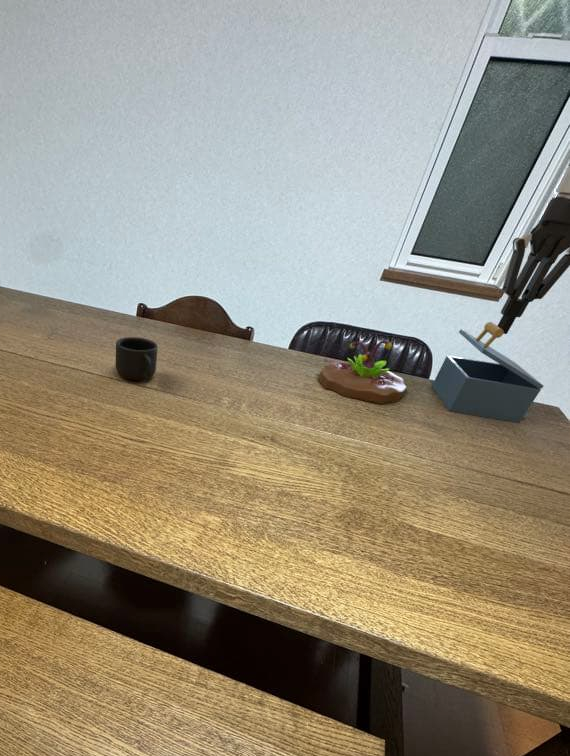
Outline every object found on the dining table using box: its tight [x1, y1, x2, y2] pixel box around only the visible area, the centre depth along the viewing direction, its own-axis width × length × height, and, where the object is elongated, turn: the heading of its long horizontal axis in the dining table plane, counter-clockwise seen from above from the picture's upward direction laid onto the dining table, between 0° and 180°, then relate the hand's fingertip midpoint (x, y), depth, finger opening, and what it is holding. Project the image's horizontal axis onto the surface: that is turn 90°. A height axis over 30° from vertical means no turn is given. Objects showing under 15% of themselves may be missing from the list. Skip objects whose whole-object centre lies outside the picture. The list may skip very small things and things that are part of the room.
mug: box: [114, 336, 159, 382], centre depth 98 cm, size 12×9×7 cm
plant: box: [318, 339, 408, 405], centre depth 107 cm, size 20×20×11 cm
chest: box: [431, 355, 542, 423], centre depth 107 cm, size 16×16×8 cm
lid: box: [458, 321, 545, 390], centre depth 101 cm, size 16×16×5 cm
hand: (500, 331), depth 99 cm, fingers closed
